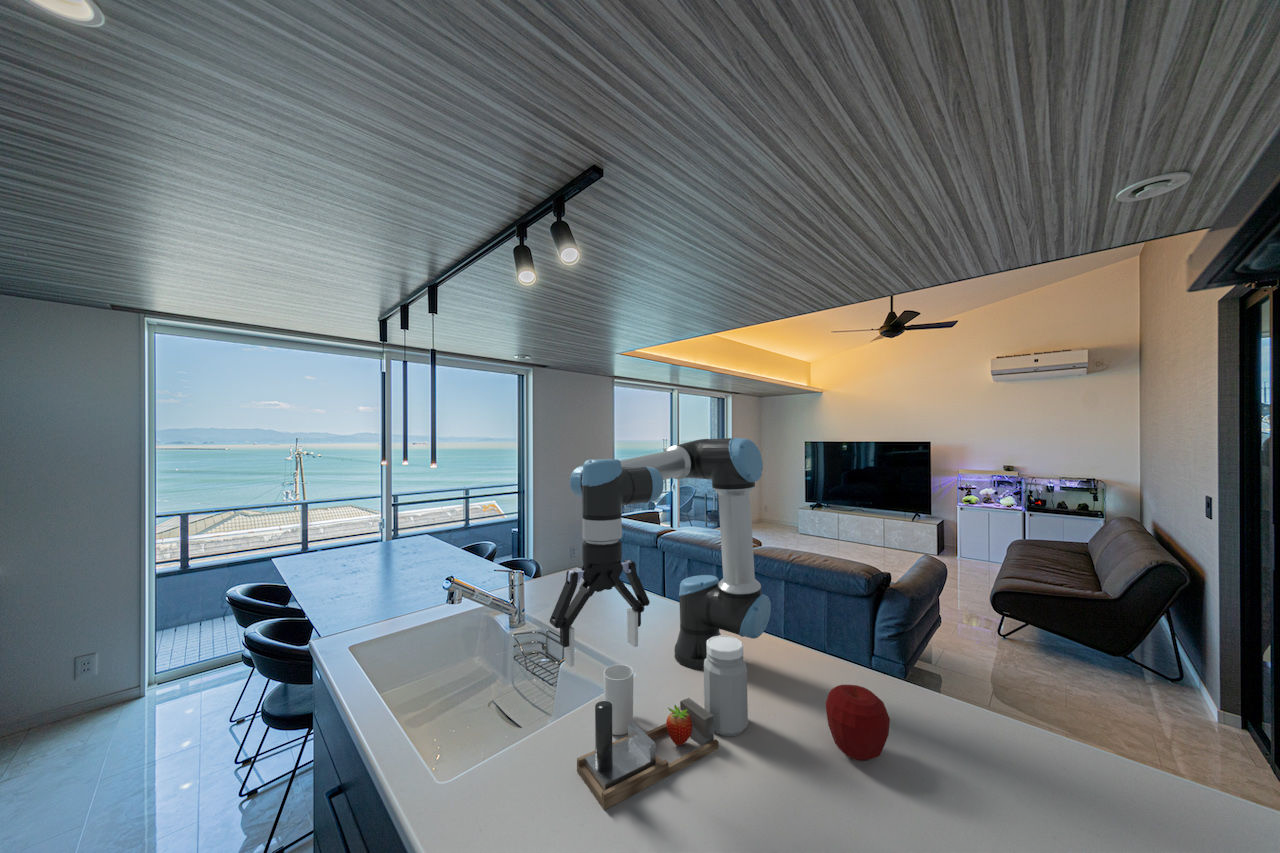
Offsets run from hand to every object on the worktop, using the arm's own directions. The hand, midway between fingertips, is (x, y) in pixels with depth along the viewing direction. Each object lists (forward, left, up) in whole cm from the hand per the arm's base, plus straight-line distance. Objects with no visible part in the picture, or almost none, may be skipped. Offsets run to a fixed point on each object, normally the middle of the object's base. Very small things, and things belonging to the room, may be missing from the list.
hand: (602, 653), depth 83 cm
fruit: (-18, 0, -24) cm, 30 cm away
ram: (-4, 0, -22) cm, 22 cm away
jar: (-31, 0, -24) cm, 39 cm away
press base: (-11, 0, -24) cm, 26 cm away
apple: (-46, +22, -24) cm, 57 cm away
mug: (-12, -14, -24) cm, 30 cm away
